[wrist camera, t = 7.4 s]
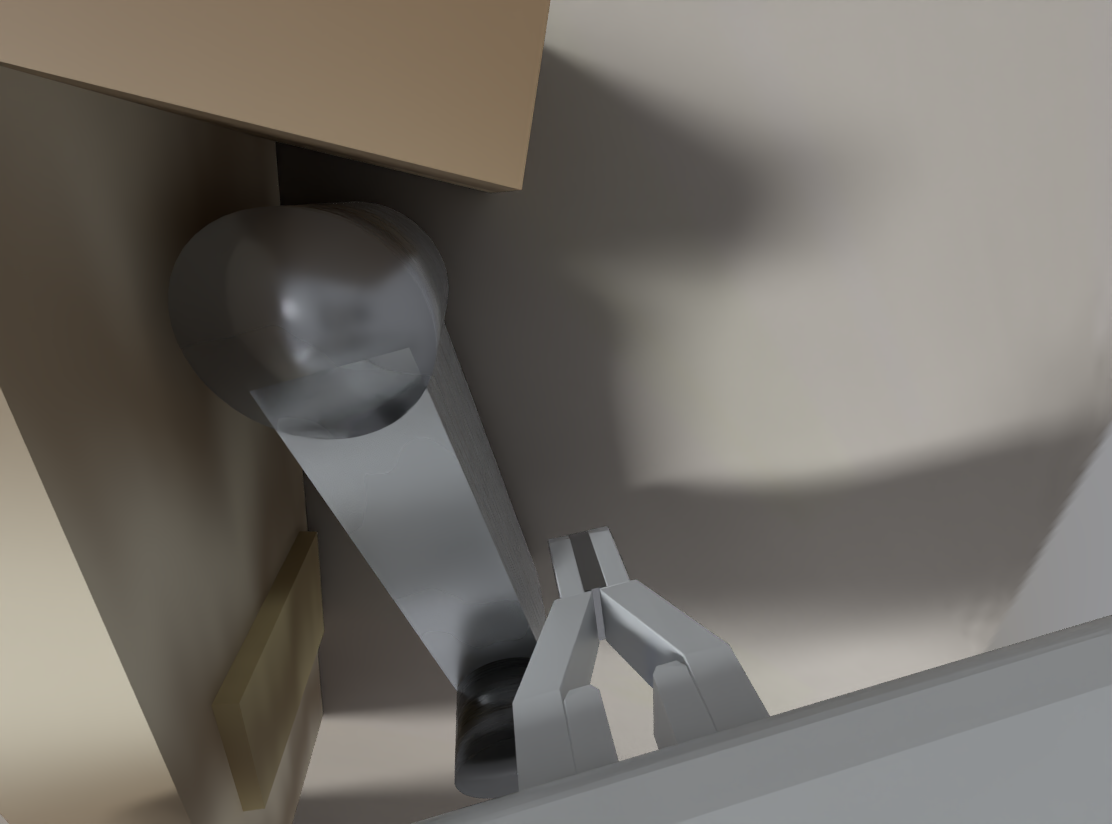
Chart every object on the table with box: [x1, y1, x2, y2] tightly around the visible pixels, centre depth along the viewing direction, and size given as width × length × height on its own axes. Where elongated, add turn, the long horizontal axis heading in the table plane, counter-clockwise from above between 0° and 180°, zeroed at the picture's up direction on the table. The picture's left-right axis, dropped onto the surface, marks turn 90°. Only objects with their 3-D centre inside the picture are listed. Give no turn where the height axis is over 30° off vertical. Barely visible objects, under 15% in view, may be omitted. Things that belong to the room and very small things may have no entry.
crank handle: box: [168, 201, 546, 798], centre depth 8 cm, size 11×3×5 cm, turn 13°
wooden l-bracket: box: [0, 0, 550, 824], centre depth 8 cm, size 20×6×6 cm, turn 168°
